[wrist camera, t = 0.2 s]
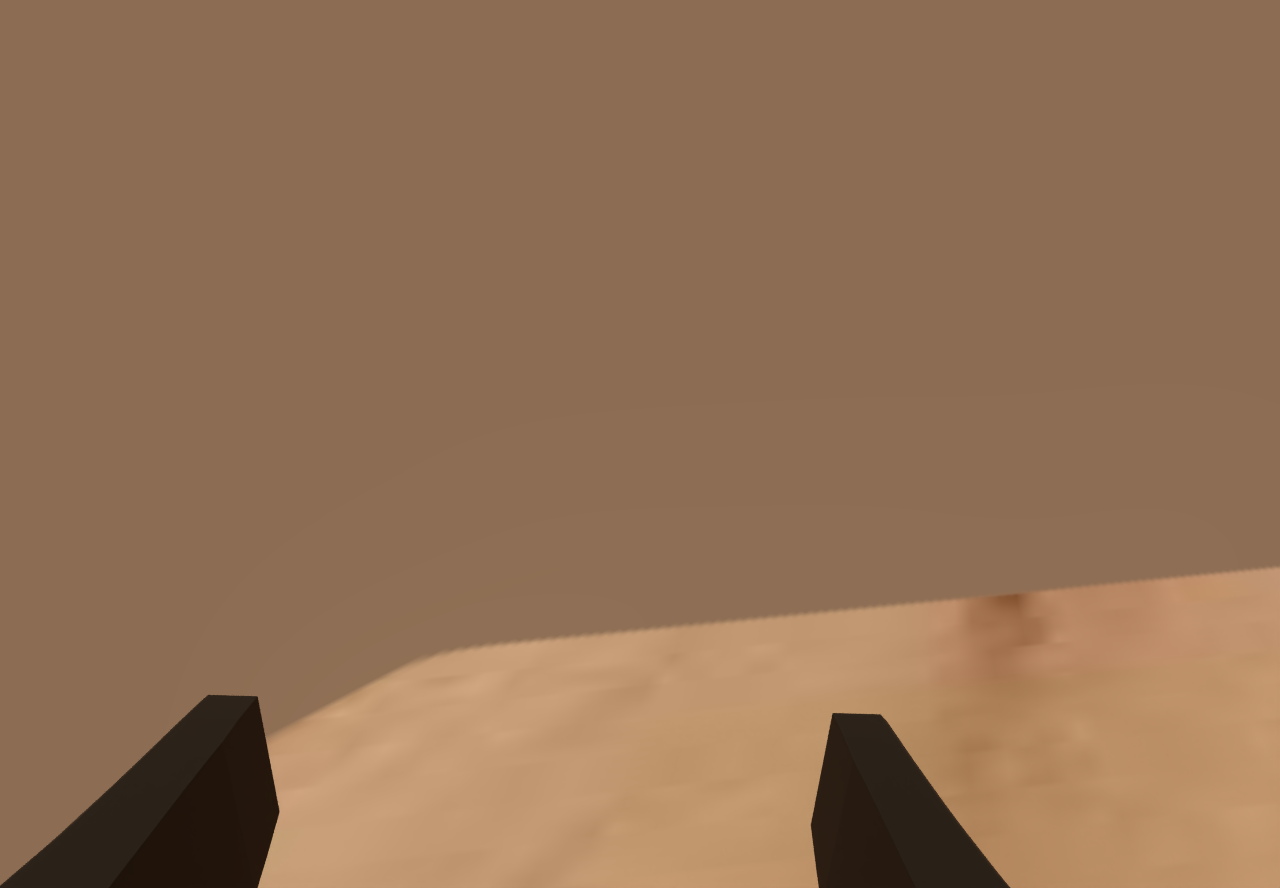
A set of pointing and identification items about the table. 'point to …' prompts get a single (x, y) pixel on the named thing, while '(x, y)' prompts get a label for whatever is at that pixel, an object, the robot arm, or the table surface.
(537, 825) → the table surface
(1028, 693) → the table surface
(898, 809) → the robot arm
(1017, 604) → the table surface
